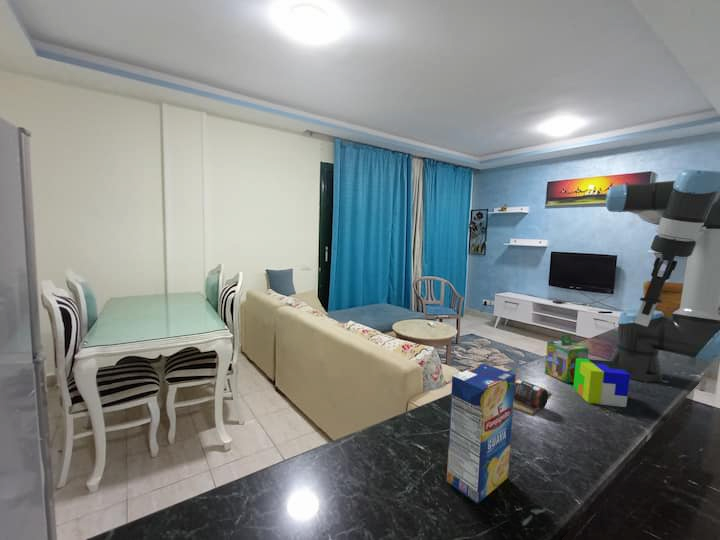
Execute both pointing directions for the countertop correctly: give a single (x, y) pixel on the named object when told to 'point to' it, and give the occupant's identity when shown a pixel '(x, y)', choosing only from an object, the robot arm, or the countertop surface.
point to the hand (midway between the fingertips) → (641, 323)
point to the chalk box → (563, 358)
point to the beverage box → (480, 430)
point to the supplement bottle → (530, 394)
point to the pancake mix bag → (667, 297)
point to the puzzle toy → (601, 382)
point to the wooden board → (525, 406)
